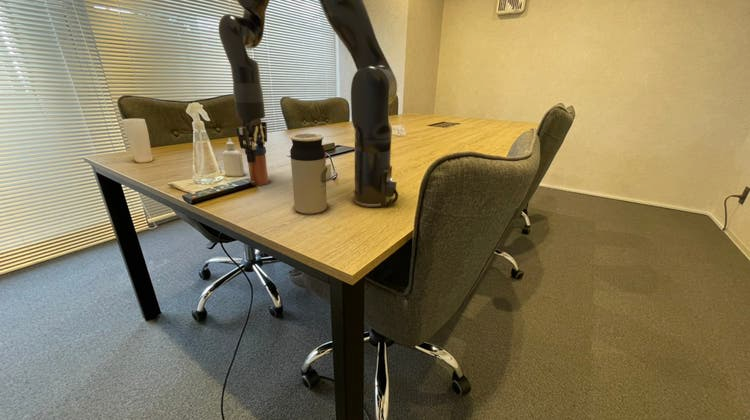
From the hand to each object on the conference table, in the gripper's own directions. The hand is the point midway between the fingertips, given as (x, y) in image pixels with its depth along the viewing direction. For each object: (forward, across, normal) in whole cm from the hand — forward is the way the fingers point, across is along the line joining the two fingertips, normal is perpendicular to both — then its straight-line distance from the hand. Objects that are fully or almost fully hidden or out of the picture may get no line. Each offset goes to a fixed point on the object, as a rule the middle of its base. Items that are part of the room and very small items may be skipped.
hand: (256, 159), depth 91 cm
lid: (-3, 0, 0) cm, 3 cm away
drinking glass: (+8, +16, +52) cm, 55 cm away
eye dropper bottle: (+8, +6, +11) cm, 15 cm away
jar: (+7, 0, 0) cm, 7 cm away
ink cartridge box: (+8, +4, -17) cm, 19 cm away
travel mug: (+7, -17, -22) cm, 28 cm away
